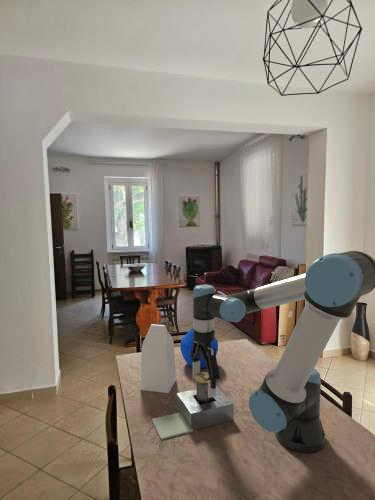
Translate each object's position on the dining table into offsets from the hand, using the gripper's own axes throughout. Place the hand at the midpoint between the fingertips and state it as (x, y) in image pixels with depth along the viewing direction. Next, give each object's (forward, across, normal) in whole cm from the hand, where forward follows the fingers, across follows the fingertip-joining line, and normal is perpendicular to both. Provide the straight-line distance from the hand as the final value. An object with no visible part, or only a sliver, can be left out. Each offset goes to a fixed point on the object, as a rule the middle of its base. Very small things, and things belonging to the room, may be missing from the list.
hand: (203, 386), depth 118 cm
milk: (+11, +27, +9) cm, 30 cm away
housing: (+10, 0, 0) cm, 10 cm away
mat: (+10, -2, +13) cm, 17 cm away
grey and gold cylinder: (+10, 0, 0) cm, 10 cm away
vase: (+11, +39, -15) cm, 43 cm away
